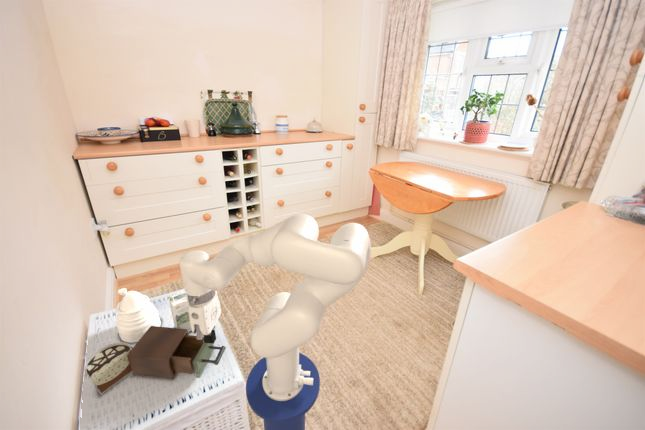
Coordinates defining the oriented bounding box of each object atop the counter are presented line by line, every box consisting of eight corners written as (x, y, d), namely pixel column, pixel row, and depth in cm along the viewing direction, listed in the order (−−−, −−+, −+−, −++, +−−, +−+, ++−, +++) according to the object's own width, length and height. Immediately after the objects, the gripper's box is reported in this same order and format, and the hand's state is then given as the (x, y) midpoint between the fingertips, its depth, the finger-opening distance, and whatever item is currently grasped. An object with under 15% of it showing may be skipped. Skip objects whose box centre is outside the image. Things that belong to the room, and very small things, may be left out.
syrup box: (191, 320, 111) (185, 290, 105) (196, 330, 106) (190, 298, 100) (174, 327, 107) (167, 296, 101) (179, 337, 103) (172, 305, 97)
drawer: (229, 351, 98) (227, 336, 95) (216, 379, 88) (214, 364, 85) (181, 346, 99) (177, 331, 96) (163, 374, 89) (159, 358, 86)
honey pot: (118, 347, 98) (103, 306, 91) (121, 322, 109) (108, 283, 101) (161, 334, 104) (150, 294, 97) (160, 311, 114) (150, 273, 107)
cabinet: (191, 347, 99) (187, 329, 96) (172, 379, 89) (167, 359, 85) (156, 344, 100) (150, 325, 97) (133, 375, 89) (126, 355, 86)
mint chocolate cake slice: (128, 357, 95) (120, 335, 91) (139, 366, 92) (131, 343, 88) (84, 387, 85) (74, 364, 81) (95, 399, 82) (84, 374, 78)
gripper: (201, 312, 74) (211, 363, 82) (224, 277, 88) (231, 323, 95) (173, 310, 75) (186, 361, 82) (200, 276, 88) (209, 322, 96)
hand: (210, 341), depth 89 cm, fingers closed
